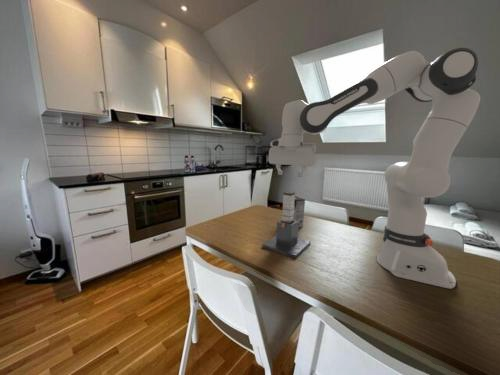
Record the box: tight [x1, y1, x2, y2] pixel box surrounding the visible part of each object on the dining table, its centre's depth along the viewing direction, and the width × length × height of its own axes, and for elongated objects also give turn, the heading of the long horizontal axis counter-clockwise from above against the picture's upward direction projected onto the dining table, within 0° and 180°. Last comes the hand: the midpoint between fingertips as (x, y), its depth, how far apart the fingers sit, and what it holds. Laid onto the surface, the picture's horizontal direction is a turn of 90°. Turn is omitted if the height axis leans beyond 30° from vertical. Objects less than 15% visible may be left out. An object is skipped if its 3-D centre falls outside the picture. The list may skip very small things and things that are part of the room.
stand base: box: [261, 219, 311, 260], centre depth 92 cm, size 16×16×12 cm
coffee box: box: [293, 195, 306, 228], centre depth 118 cm, size 9×6×16 cm
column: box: [281, 191, 296, 224], centre depth 90 cm, size 4×4×23 cm
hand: (289, 175), depth 87 cm, fingers open, 8 cm apart
